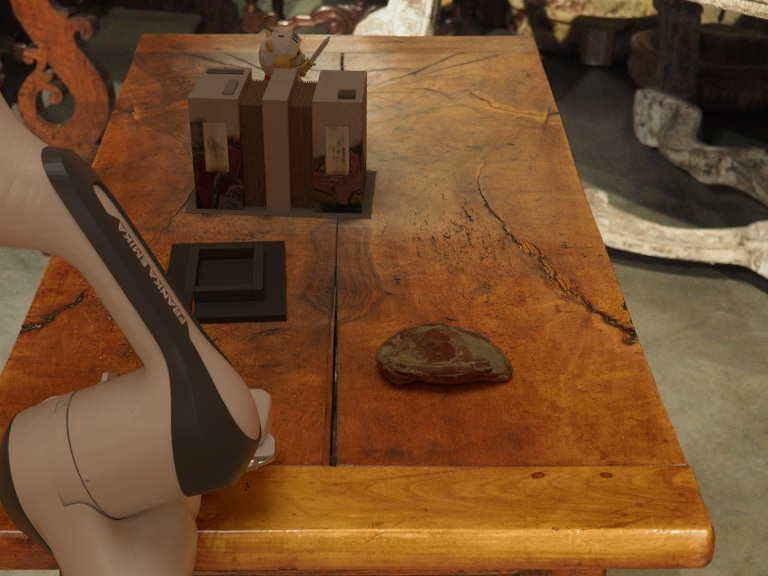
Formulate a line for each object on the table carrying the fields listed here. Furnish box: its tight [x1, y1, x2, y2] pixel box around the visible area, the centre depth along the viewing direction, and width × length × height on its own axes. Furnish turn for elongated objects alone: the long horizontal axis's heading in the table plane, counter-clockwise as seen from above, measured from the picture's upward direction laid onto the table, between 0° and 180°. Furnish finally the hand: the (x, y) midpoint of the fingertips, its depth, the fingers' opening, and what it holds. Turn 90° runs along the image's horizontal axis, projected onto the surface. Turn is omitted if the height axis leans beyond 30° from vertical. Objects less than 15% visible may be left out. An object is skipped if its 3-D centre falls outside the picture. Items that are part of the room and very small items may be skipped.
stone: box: [375, 321, 514, 386], centre depth 112 cm, size 13×10×3 cm
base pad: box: [166, 240, 287, 324], centre depth 126 cm, size 14×18×2 cm
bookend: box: [183, 65, 377, 220], centre depth 145 cm, size 16×25×16 cm, turn 88°
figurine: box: [258, 29, 331, 83], centre depth 168 cm, size 13×11×15 cm
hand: (163, 376), depth 100 cm, fingers open, 8 cm apart
